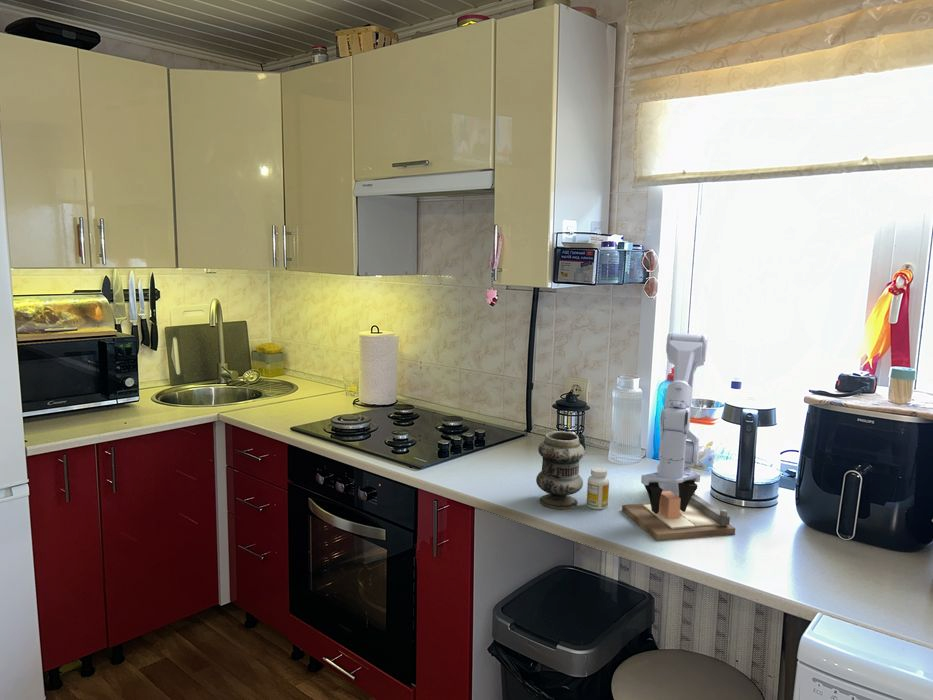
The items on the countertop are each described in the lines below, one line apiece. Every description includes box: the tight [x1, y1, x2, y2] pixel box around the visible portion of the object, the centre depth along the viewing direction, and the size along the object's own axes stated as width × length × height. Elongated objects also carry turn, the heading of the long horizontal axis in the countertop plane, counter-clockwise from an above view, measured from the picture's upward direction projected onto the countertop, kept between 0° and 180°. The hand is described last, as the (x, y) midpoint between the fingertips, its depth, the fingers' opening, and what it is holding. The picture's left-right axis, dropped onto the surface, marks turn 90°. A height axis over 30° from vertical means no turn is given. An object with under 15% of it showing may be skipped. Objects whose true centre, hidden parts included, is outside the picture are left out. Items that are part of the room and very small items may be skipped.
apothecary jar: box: [535, 430, 586, 510], centre depth 176 cm, size 12×12×18 cm
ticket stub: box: [643, 491, 695, 529], centre depth 165 cm, size 14×6×5 cm, turn 13°
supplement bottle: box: [586, 466, 610, 510], centre depth 175 cm, size 5×5×10 cm
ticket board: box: [621, 491, 736, 542], centre depth 166 cm, size 18×20×5 cm
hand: (668, 511), depth 165 cm, fingers open, 7 cm apart
